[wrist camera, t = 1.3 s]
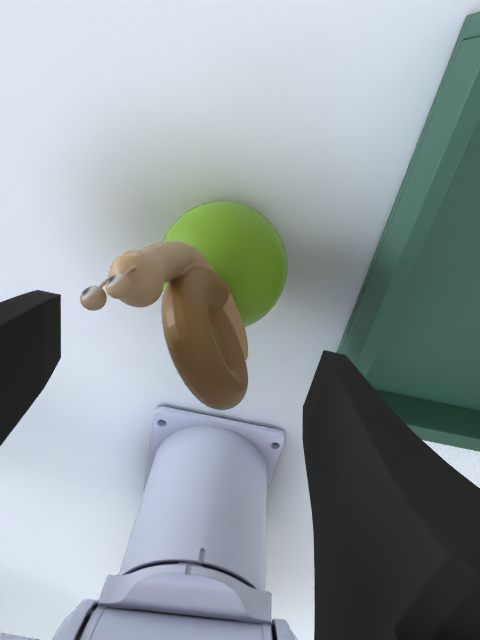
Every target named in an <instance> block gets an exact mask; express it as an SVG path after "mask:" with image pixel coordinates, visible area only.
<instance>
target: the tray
mask: <svg viewBox="0 0 480 640" xmlns="http://www.w3.org/2000/svg"><path fill="white" fill-rule="evenodd" d="M337 353H339V354H344V355H346V356H347V357H348V358H349V359H350V360H351V361H352V363H353V364H354V365H355V366H356V367H357V369H358V370H359V371H360V372H361V373H362V375H363V376H364V377H365V378H366V380H367V381H368V382H369V383H370V384H371V386H372V387H373V388H374V389H375V390H376V392H377V393H378V394H379V395H380V396H381V397H382V399H383V400H384V401H385V402H386V403H387V404H388V405H389V407H390V408H391V409H392V410H393V411H394V412H395V413H396V414H397V415H398V416H399V418H400V419H401V420H402V421H403V422H404V423H405V424H406V425H407V426H408V427H409V428H410V429H411V430H412V431H413V432H414V433H415V434H416V435H417V436H418V437H419V438H420V439H421V440H425V441H430V442H435V443H440V444H445V445H450V446H455V447H460V448H465V449H470V450H475V451H479V452H480V12H477V13H474V14H471V15H468V16H467V17H466V20H465V23H464V25H463V28H462V30H461V33H460V36H459V38H458V41H457V43H456V46H455V49H454V51H453V54H452V56H451V59H450V62H449V64H448V67H447V69H446V72H445V75H444V77H443V80H442V82H441V85H440V87H439V90H438V93H437V95H436V98H435V100H434V103H433V106H432V108H431V111H430V113H429V116H428V119H427V121H426V124H425V126H424V129H423V132H422V134H421V137H420V139H419V142H418V144H417V147H416V150H415V152H414V155H413V157H412V160H411V163H410V165H409V168H408V170H407V173H406V176H405V178H404V181H403V183H402V186H401V189H400V191H399V194H398V196H397V199H396V201H395V204H394V207H393V209H392V212H391V214H390V217H389V220H388V222H387V225H386V227H385V230H384V233H383V235H382V238H381V240H380V243H379V246H378V248H377V251H376V253H375V256H374V259H373V261H372V264H371V266H370V269H369V271H368V274H367V277H366V279H365V282H364V284H363V287H362V290H361V292H360V295H359V297H358V300H357V303H356V305H355V308H354V310H353V313H352V316H351V318H350V321H349V323H348V326H347V328H346V331H345V334H344V336H343V339H342V341H341V344H340V347H339V349H338V352H337Z"/></svg>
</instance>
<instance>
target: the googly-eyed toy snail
mask: <svg viewBox="0 0 480 640" xmlns="http://www.w3.org/2000/svg"><path fill="white" fill-rule="evenodd" d="M286 274H287V259H286V253H285V249H284V246H283V243H282V240H281V238H280V236H279V234H278V233H277V231H276V230H275V228H274V227H273V226H272V224H271V223H270V222H269V221H268V220H267V219H266V218H265V217H264V216H262V215H261V214H260V213H258V212H257V211H255V210H254V209H252V208H250V207H247V206H245V205H242V204H239V203H234V202H226V201H219V202H211V203H206V204H203V205H200V206H197V207H195V208H193V209H191V210H190V211H188V212H186V213H185V214H184V215H182V216H181V217H180V218H179V219H178V220H177V221H176V222H175V223H174V224H173V225H172V227H171V228H170V230H169V231H168V233H167V234H166V236H165V238H164V241H163V242H160V243H157V244H154V245H151V246H148V247H145V248H143V249H141V250H140V251H129V252H126V253H124V254H123V255H121V256H120V257H118V258H117V259H115V260H114V262H113V263H112V265H111V267H110V270H109V278H108V279H106V280H105V281H104V282H102V283H101V284H100V286H99V287H98V286H91V287H89V288H87V289H85V290H84V291H83V292H82V294H81V296H80V301H81V304H82V305H83V306H84V307H85V308H86V309H88V310H92V311H95V310H99V309H101V308H102V307H103V306H104V305H105V303H106V299H107V297H106V293H105V291H104V290H103V289H102V287H103V286H104V285H105V284H106V285H105V287H106V291H107V293H108V294H109V295H110V296H111V297H113V298H115V299H120V300H121V301H122V302H124V303H125V304H128V305H130V306H134V307H146V306H149V305H151V304H153V303H154V302H155V301H156V300H157V299H158V298H159V297H160V295H161V293H162V291H164V295H163V300H162V324H163V330H164V336H165V340H166V343H167V347H168V350H169V353H170V355H171V358H172V361H173V363H174V365H175V367H176V369H177V371H178V373H179V375H180V377H181V378H182V380H183V382H184V383H185V385H186V386H187V387H188V389H189V390H190V391H191V392H192V394H193V395H194V396H195V397H196V398H197V399H198V400H199V401H200V402H202V403H203V404H205V405H206V406H208V407H211V408H214V409H218V410H226V409H230V408H233V407H235V406H236V405H238V404H239V403H240V402H241V400H242V399H243V398H244V396H245V394H246V390H247V386H248V372H247V366H246V361H245V360H246V359H247V356H248V343H247V336H246V331H245V327H246V326H248V325H251V324H253V323H254V322H256V321H258V320H259V319H261V318H262V317H263V316H264V315H266V314H267V313H268V312H269V311H270V310H271V308H272V307H273V306H274V305H275V303H276V302H277V300H278V298H279V297H280V295H281V292H282V290H283V287H284V284H285V280H286Z"/></svg>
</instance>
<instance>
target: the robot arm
mask: <svg viewBox="0 0 480 640" xmlns="http://www.w3.org/2000/svg"><path fill="white" fill-rule="evenodd" d="M60 358H61V295H59V294H54V293H49V292H45V291H40V290H36V291H32V292H29V293H26V294H22V295H20V296H17V297H14V298H11V299H8V300H6V301H3V302H0V446H1V444H2V443H3V442H4V440H5V439H6V438H7V437H8V435H9V434H10V433H11V431H12V430H13V429H14V427H15V426H16V425H17V423H18V422H19V421H20V419H21V418H22V417H23V415H24V414H25V413H26V412H27V410H28V409H29V408H30V406H31V405H32V404H33V402H34V401H35V399H36V398H37V397H38V395H39V394H40V393H41V391H42V390H43V389H44V387H45V385H46V384H47V382H48V380H49V378H50V377H51V375H52V373H53V371H54V369H55V367H56V365H57V364H58V362H59V360H60ZM160 420H164V421H165V422H162V421H160ZM273 443H278V444H273ZM284 443H285V433H284V432H283V431H281V430H278V429H273V428H268V427H263V426H258V425H253V424H248V423H243V422H238V421H233V420H228V419H223V418H218V417H213V416H208V415H203V414H198V413H193V412H188V411H183V410H178V409H173V408H168V407H159V408H157V410H156V412H155V415H154V422H153V429H152V436H151V443H150V450H149V457H148V464H147V471H146V478H145V486H144V493H143V497H142V500H141V503H140V506H139V510H138V513H137V516H136V519H135V523H134V526H133V529H132V532H131V536H130V539H129V542H128V545H127V549H126V552H125V555H124V558H123V562H122V565H121V568H120V571H119V575H108V576H107V578H106V580H105V583H104V586H103V589H102V592H101V595H100V598H99V600H94V599H86V600H84V601H83V602H81V603H80V604H79V605H78V606H77V607H76V609H75V610H74V611H73V612H72V613H71V614H70V615H68V616H67V617H66V618H65V620H64V621H63V622H62V624H61V625H60V627H59V628H58V630H57V632H56V633H55V635H54V637H53V639H52V640H298V639H297V638H296V636H295V635H294V634H293V632H292V631H291V630H290V628H289V625H288V623H287V622H286V621H285V620H281V619H273V620H272V623H271V593H270V592H267V591H266V504H267V490H268V488H269V485H270V482H271V479H272V476H273V474H274V471H275V468H276V465H277V462H278V460H279V457H280V454H281V451H282V448H283V446H284ZM303 446H304V455H305V463H306V470H307V478H308V486H309V493H310V501H311V509H312V518H313V530H314V567H315V633H314V640H480V488H478V487H477V486H476V485H475V484H473V483H472V482H471V481H469V480H468V479H467V478H466V477H464V476H463V475H462V474H460V473H459V472H458V471H457V470H455V469H454V468H453V467H452V466H451V465H449V464H448V463H447V462H446V461H445V460H443V459H442V458H441V457H440V456H439V455H438V454H437V453H436V452H434V451H433V450H432V449H431V448H430V447H429V446H428V445H427V444H426V443H424V442H423V441H422V440H421V439H420V438H419V437H418V436H417V435H416V434H415V433H414V432H413V431H412V430H411V429H410V428H409V427H408V426H407V425H406V424H405V423H404V422H403V421H402V420H401V419H400V418H399V416H398V415H397V414H396V413H395V412H394V411H393V410H392V409H391V408H390V407H389V405H388V404H387V403H386V402H385V401H384V400H383V399H382V397H381V396H380V395H379V394H378V393H377V392H376V390H375V389H374V388H373V387H372V386H371V384H370V383H369V382H368V381H367V380H366V378H365V377H364V376H363V375H362V373H361V372H360V371H359V370H358V369H357V367H356V366H355V365H354V364H353V363H352V361H351V360H350V359H349V358H348V357H347V356H346V355H344V354H339V353H334V352H330V351H325V350H324V351H323V354H322V356H321V359H320V362H319V364H318V367H317V370H316V373H315V375H314V378H313V381H312V384H311V386H310V389H309V392H308V395H307V397H306V400H305V403H304V405H303ZM0 640H39V639H33V638H27V637H21V636H15V635H10V634H4V633H0Z"/></svg>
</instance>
